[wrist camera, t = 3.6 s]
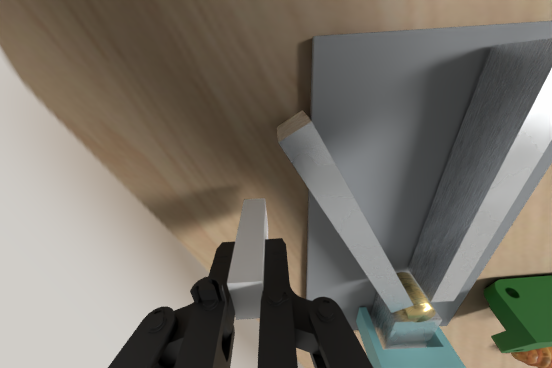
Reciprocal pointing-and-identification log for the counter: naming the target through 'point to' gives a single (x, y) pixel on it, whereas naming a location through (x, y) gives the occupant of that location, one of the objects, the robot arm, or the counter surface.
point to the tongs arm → (340, 206)
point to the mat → (397, 143)
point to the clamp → (522, 312)
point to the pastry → (536, 357)
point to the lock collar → (411, 361)
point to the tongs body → (475, 186)
